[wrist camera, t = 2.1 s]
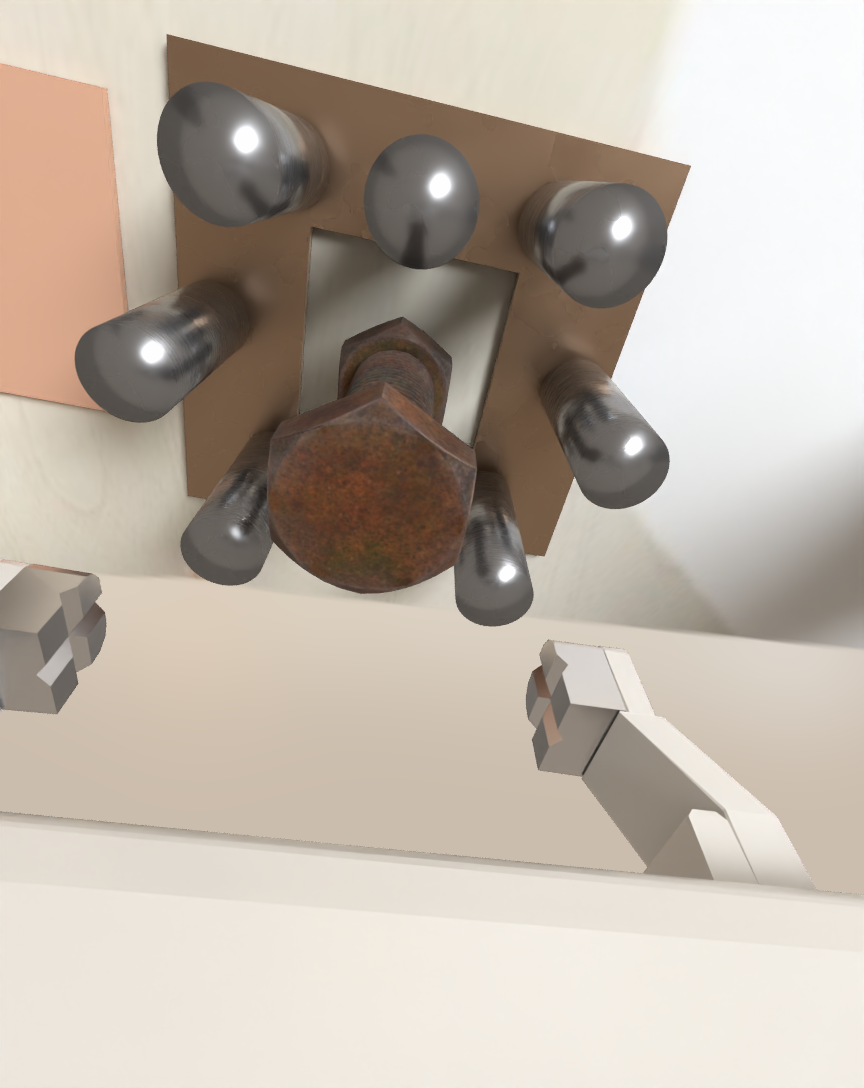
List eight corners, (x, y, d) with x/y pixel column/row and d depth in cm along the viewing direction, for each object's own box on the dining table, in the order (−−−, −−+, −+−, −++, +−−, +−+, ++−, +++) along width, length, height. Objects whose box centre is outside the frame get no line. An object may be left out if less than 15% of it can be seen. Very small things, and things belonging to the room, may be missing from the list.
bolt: (442, 419, 28) (447, 614, 16) (343, 404, 28) (267, 591, 15) (464, 297, 25) (491, 419, 13) (351, 278, 25) (265, 384, 12)
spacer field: (688, 166, 22) (815, 162, 15) (544, 551, 33) (576, 664, 25) (169, 36, 20) (13, -44, 13) (189, 490, 31) (109, 593, 23)
